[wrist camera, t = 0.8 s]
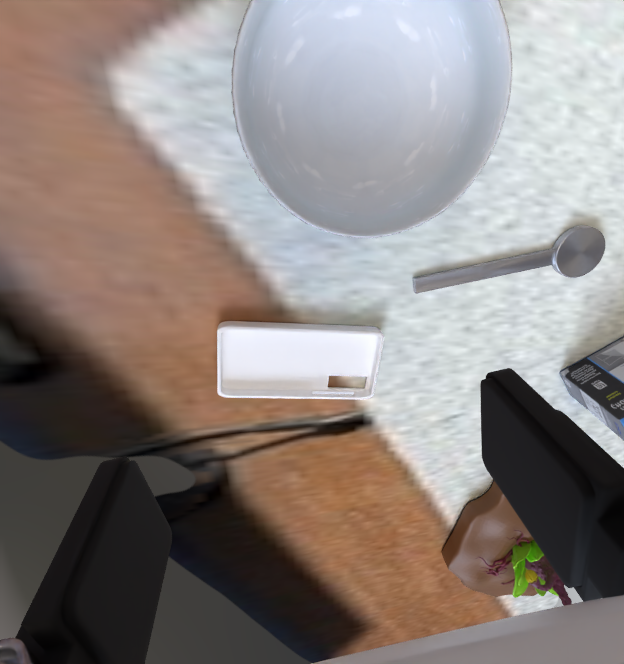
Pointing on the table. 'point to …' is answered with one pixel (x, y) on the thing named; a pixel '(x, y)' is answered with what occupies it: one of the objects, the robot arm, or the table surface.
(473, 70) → the cereal bowl
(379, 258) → the table surface
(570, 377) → the blue cardboard box
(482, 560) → the plant
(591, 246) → the spoon
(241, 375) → the phone case
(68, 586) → the robot arm
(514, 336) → the table surface
